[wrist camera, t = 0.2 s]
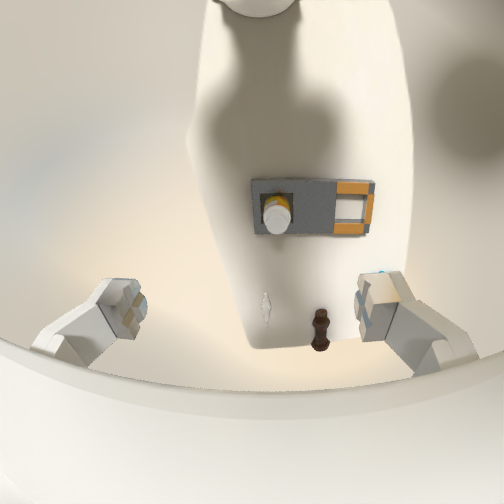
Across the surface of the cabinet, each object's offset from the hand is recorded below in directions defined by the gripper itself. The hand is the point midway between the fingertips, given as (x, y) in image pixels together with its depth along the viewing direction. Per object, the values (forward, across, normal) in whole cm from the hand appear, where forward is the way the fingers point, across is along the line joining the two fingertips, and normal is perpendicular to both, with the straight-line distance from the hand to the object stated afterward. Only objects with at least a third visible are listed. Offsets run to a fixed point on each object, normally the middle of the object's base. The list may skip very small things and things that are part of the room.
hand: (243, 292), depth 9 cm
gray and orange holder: (+48, -8, +17) cm, 51 cm away
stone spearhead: (+48, +4, +48) cm, 68 cm away
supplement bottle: (+48, 0, +17) cm, 51 cm away
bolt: (+48, -12, +55) cm, 74 cm away
